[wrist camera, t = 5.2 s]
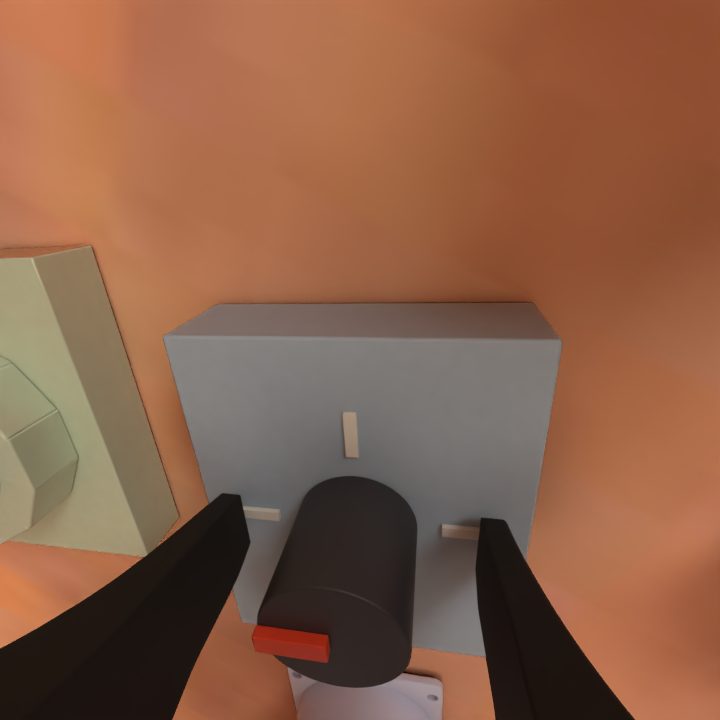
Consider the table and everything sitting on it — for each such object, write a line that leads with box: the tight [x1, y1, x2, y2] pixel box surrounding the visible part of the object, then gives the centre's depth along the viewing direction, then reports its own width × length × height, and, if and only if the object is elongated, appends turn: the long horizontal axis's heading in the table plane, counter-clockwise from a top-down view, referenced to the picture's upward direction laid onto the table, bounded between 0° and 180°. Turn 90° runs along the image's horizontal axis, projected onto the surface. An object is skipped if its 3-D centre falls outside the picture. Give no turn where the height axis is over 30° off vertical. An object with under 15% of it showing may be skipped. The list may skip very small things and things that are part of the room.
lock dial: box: [252, 476, 417, 688], centre depth 10 cm, size 4×4×4 cm
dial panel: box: [163, 303, 563, 657], centre depth 13 cm, size 12×10×3 cm
